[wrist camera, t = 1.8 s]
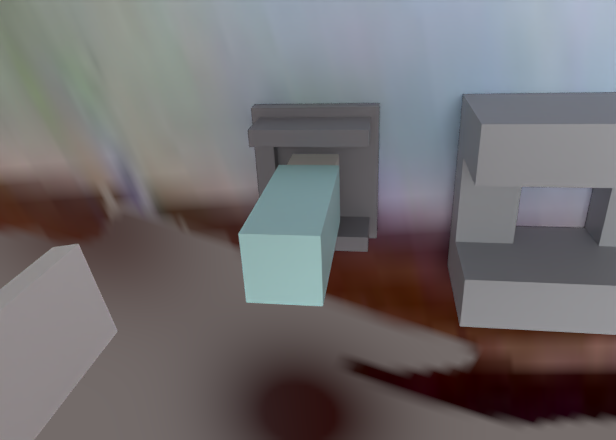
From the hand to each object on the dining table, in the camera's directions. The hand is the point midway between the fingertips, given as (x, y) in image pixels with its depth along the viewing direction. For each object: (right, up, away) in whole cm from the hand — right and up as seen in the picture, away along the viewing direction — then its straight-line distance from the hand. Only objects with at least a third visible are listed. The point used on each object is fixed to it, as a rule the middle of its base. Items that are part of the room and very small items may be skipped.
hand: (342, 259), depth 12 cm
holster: (0, +4, +22) cm, 23 cm away
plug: (0, +4, +21) cm, 22 cm away
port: (+15, +3, +21) cm, 25 cm away
